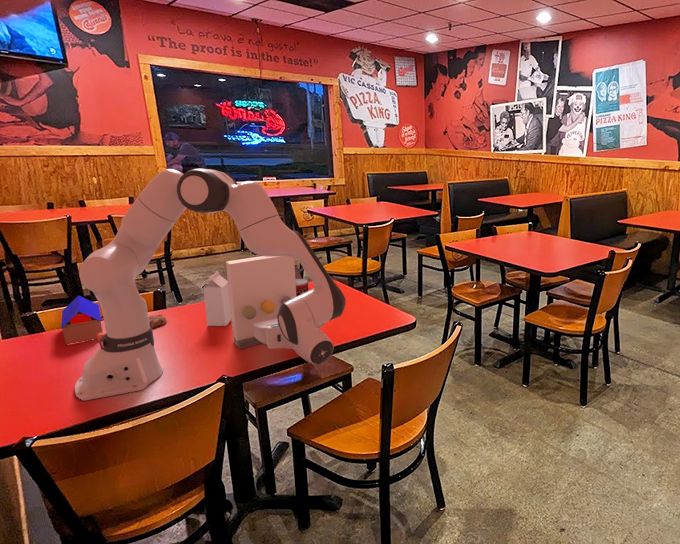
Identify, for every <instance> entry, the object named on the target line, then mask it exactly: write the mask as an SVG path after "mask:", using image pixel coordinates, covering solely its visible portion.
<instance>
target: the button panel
mask: <svg viewBox="0 0 680 544" xmlns="http://www.w3.org/2000/svg"><path fill="white" fill-rule="evenodd" d="M225 265H226V266H225V267H226V276H227V281H228V288H229V298H230V308H231V318H232V320H231V325H232V337H233V343H234V344H235V346H236V347H237V348H238V349H240V350H241V349H244V348H248V347H253V346H255V345H256V346H257V345H259V344H263V343H262V342H260V341H259V340H258V339H256V338H255V336H254V335H253V324H254V323H258V322H263V321H267V320H272V319H273V316H275V315H278V312H279V308H280V306H281V301H282V299H283V298H284V297H286V296H288V297H290V298H294V297H296V282H295V265H296V264H295V258H293V257H289V256H272V257H268V256H261V255H259V256H256V257H255V256H254V257H248V258H247V257H246V258H241V259H235V260H234V259H233V260H228V261H225ZM267 300H269V301H271V302H273V303H274V304H275V310H274V311H273V312H272V313H270V314H267V313H265V312H264V311H263V310H262V304H263V302H265V301H267ZM246 306H252V307H253V308H254V309H255V310H256V316H255V317H254V318H253V319H246V318H245V317H244V316H243V314H242V311H243V309H244V308H245V307H246Z"/></svg>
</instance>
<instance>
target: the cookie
mask: <svg viewBox="0 0 680 544" xmlns="http://www.w3.org/2000/svg"><path fill="white" fill-rule="evenodd" d="M148 318H149V324H150V326H151V328H152V329H154V328H157V327H159V326H163V325H165V324H166V323H167V322H168V321H167V318H166V317H164V316H163V315H162V314H155V315H150V316H149V315H148Z"/></svg>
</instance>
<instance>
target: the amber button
mask: <svg viewBox="0 0 680 544" xmlns="http://www.w3.org/2000/svg"><path fill="white" fill-rule="evenodd" d="M262 310H263V311H264V312H265V313H267V314H270V313H272V312H273V311H274V310H275V304H274V303H273V302H271V301H269V300H267V301H265V302H263V304H262Z"/></svg>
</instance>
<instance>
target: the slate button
mask: <svg viewBox="0 0 680 544" xmlns="http://www.w3.org/2000/svg"><path fill="white" fill-rule="evenodd" d="M290 299H292V298H290V297H288V296H286V297H284V298H283V299H282V301H281V304H282V303H284V302H286V301H288V300H290Z"/></svg>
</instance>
